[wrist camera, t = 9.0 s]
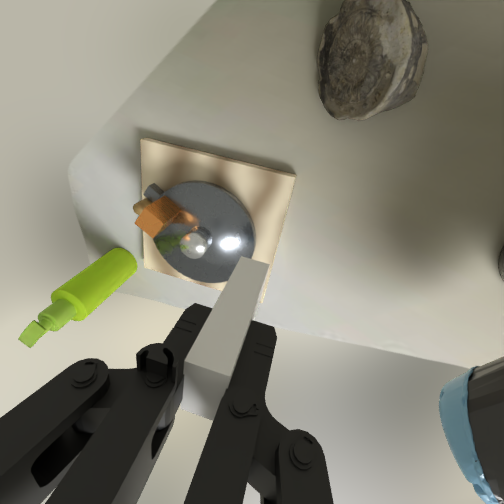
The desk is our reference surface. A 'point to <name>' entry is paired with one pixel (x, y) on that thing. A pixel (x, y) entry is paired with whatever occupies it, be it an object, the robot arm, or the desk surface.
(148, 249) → the post base
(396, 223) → the desk surface
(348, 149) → the desk surface
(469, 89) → the desk surface
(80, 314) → the soap dispenser
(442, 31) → the desk surface
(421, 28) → the fossil
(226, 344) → the robot arm
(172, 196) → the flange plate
